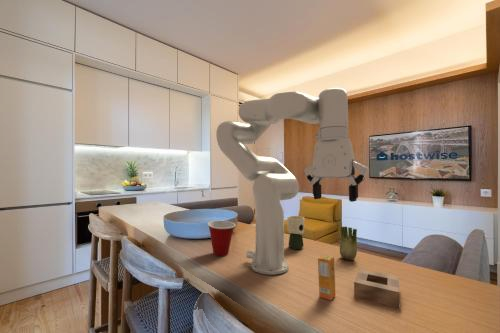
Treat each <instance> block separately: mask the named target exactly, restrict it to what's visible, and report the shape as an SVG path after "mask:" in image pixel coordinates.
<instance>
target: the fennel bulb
mask: <svg viewBox="0 0 500 333" xmlns="http://www.w3.org/2000/svg"><path fill="white" fill-rule="evenodd" d="M357 230H358V229H357V228H353V227H348V226H340V237H341V238H340V242H339V254H340V257H341V258H343V259H344V260H347V261H353V260H356V257H357V253H358V252H357V251H358V242H357V232H358V231H357Z"/></svg>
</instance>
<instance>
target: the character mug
mask: <svg viewBox="0 0 500 333" xmlns="http://www.w3.org/2000/svg"><path fill="white" fill-rule="evenodd" d="M305 222H306V221H305V217H304V216H300V215H289V216H287V232H288V233H290V234H289V238H288V247H289V248H292V249H294V250H300V249H301V250H302V249H304V239H303V235H302V234H304V233H305Z"/></svg>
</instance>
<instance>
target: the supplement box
mask: <svg viewBox="0 0 500 333" xmlns="http://www.w3.org/2000/svg"><path fill="white" fill-rule="evenodd" d="M334 257H335V256H329V255H321V256H320V257H318V258H317V266H318V269H317V270H318V294H319V298H321V299H325V300H328V301H332V300H333V299H334V297H335V296H336V275H335V274H336V273H335V271H336V270H335V258H334Z"/></svg>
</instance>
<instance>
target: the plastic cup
mask: <svg viewBox="0 0 500 333" xmlns="http://www.w3.org/2000/svg"><path fill="white" fill-rule="evenodd" d="M207 226H208V228H209V233H210V243H211V247H212V254H213V255H214V256H216V257H225V256H228V255H229V253H230V246H231V241H232V236H233V231H234V228H235V227H236V223H235V222H232V221H227V220H212V221H209V222H207Z"/></svg>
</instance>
